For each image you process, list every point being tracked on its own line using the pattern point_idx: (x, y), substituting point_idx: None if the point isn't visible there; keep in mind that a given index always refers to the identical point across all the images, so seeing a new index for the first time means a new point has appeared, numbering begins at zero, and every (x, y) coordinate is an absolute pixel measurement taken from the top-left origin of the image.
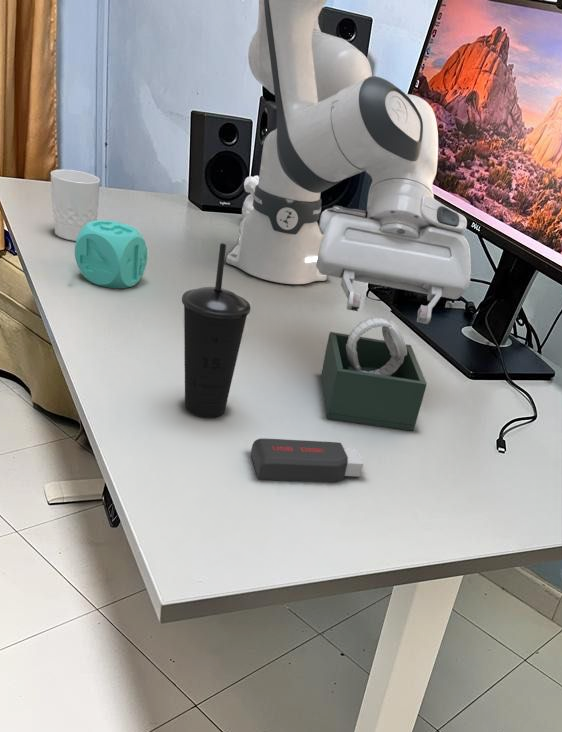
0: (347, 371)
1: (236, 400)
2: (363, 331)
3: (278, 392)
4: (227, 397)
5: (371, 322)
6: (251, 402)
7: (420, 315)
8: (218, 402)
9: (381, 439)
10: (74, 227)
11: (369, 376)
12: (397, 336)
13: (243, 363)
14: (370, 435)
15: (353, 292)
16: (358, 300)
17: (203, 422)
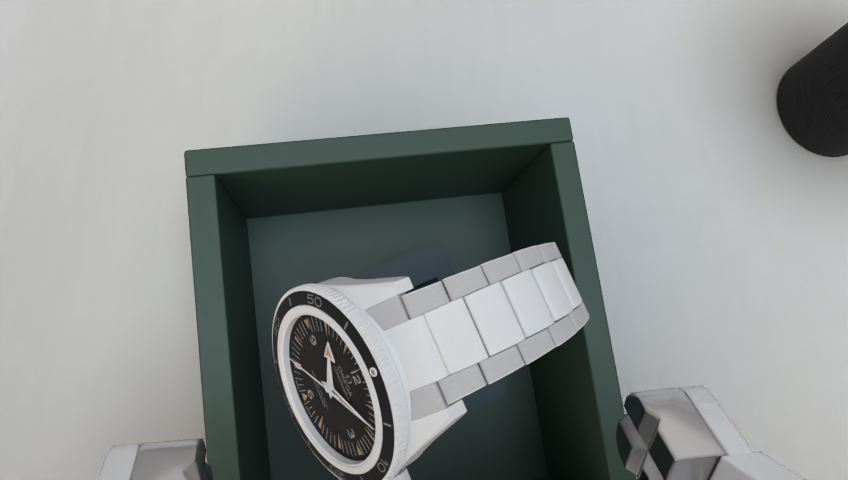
0: (531, 124)
1: (767, 187)
2: (542, 244)
3: (672, 292)
4: (809, 76)
5: (521, 294)
6: (728, 192)
7: (195, 445)
8: (820, 44)
9: (340, 114)
10: None
11: (440, 128)
12: (349, 283)
13: (815, 457)
14: (375, 126)
15: (730, 452)
16: (662, 416)
17: (805, 39)
